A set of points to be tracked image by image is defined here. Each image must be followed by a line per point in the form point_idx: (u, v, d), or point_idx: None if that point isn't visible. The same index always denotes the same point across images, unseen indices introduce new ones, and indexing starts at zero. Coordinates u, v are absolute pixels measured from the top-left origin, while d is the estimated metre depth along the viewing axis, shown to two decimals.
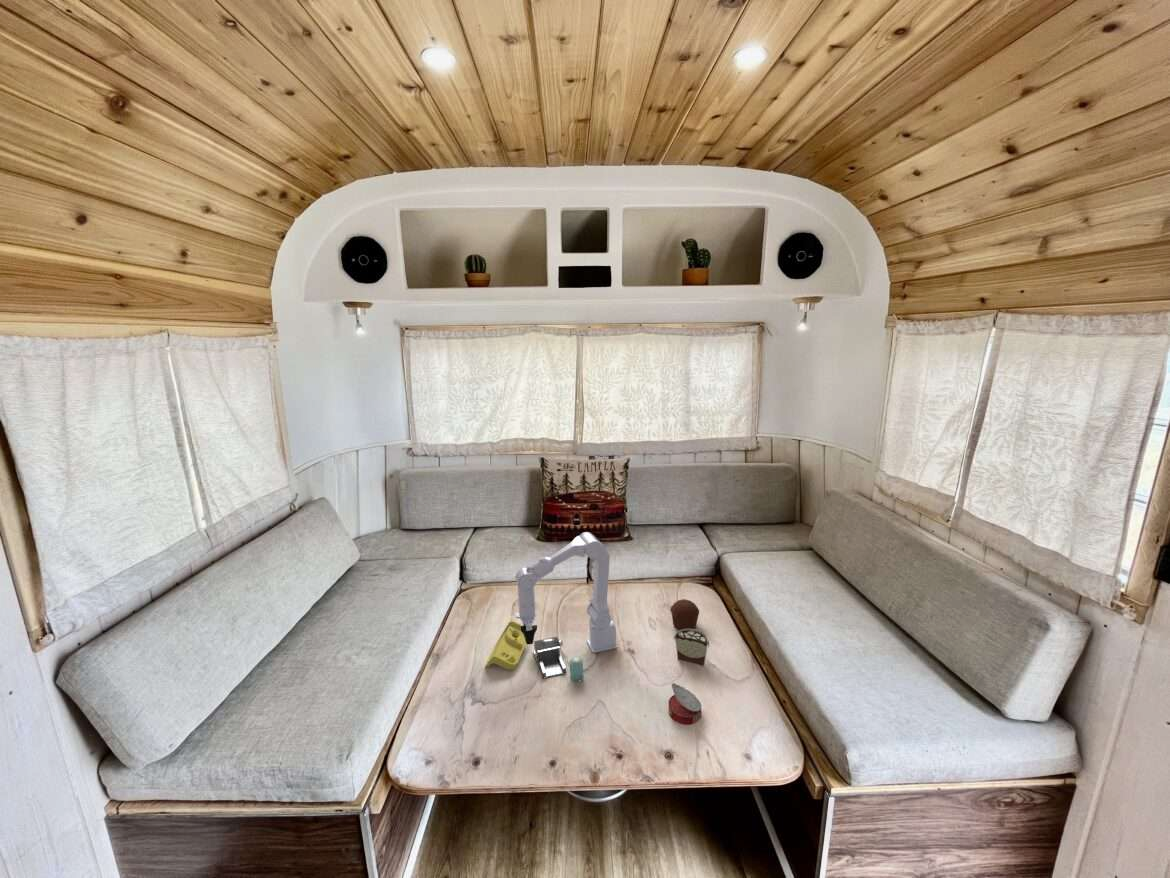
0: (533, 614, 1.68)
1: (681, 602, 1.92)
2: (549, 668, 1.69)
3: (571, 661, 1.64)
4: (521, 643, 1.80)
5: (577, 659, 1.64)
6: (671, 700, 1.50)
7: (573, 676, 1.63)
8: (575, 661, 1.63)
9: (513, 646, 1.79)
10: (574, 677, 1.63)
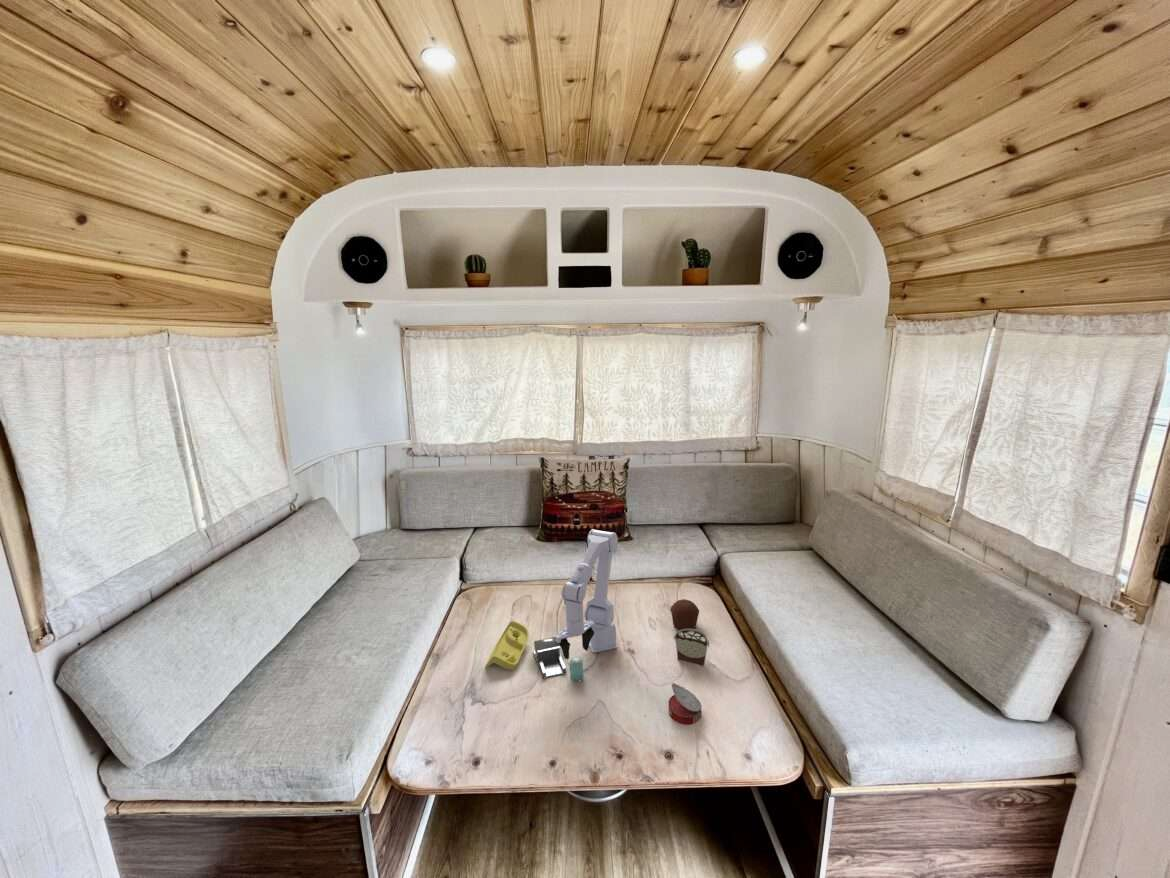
0: (573, 632, 1.59)
1: (681, 602, 1.92)
2: (549, 668, 1.69)
3: (571, 661, 1.64)
4: (522, 643, 1.80)
5: (577, 659, 1.64)
6: (671, 700, 1.50)
7: (573, 676, 1.63)
8: (575, 661, 1.63)
9: (514, 646, 1.79)
10: (574, 677, 1.63)
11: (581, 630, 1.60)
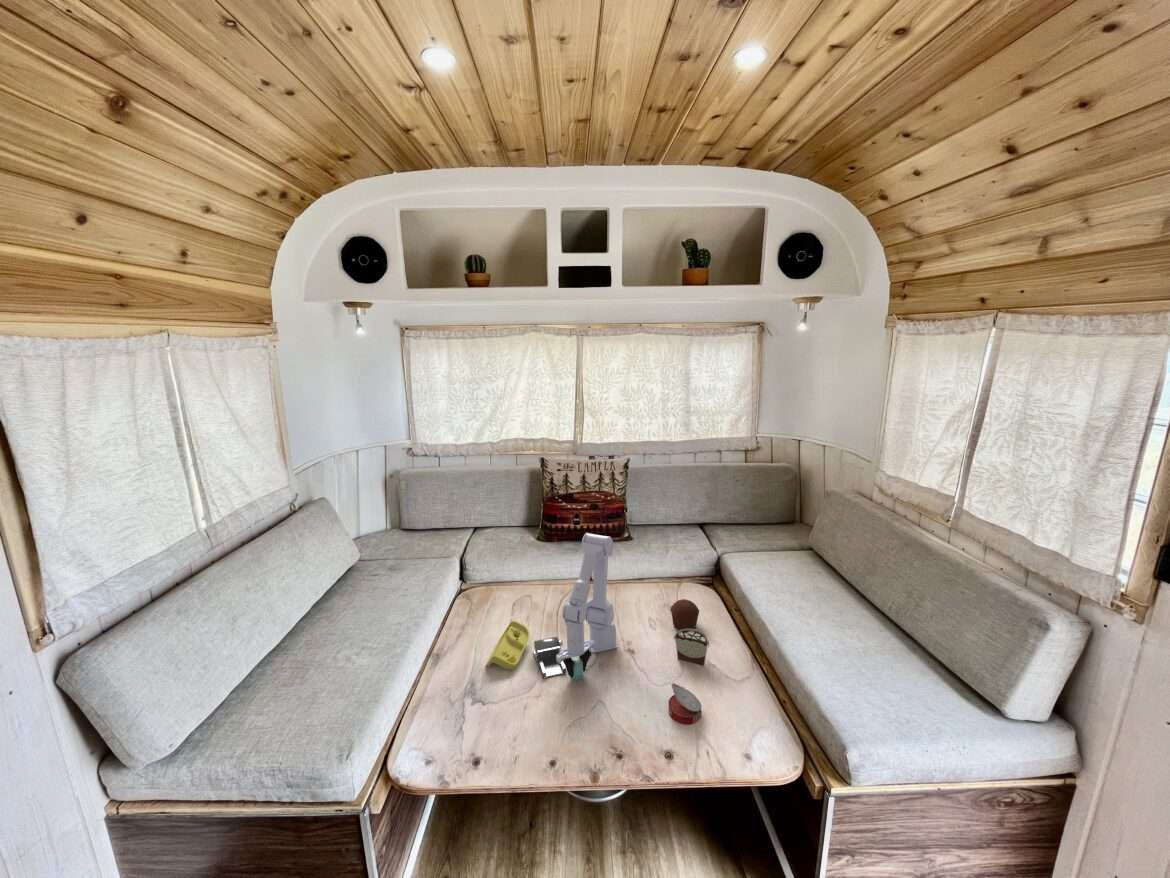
0: (573, 652, 1.60)
1: (681, 602, 1.92)
2: (549, 668, 1.69)
3: None
4: (522, 643, 1.80)
5: (577, 659, 1.64)
6: (671, 700, 1.50)
7: (573, 675, 1.63)
8: (575, 661, 1.63)
9: (514, 646, 1.79)
10: (574, 677, 1.63)
11: (582, 650, 1.61)
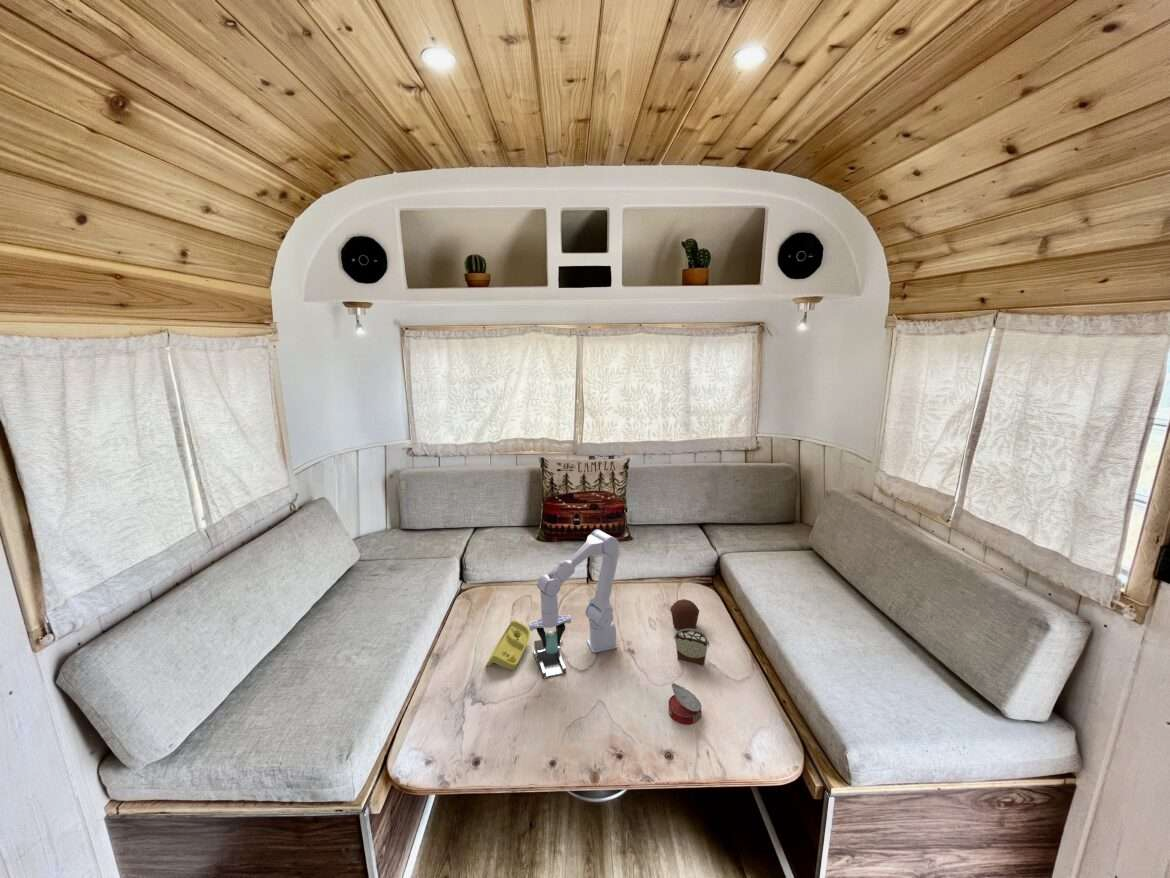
0: (545, 623, 1.65)
1: (681, 602, 1.92)
2: (549, 668, 1.69)
3: (546, 633, 1.68)
4: (522, 643, 1.80)
5: (552, 632, 1.68)
6: (671, 700, 1.50)
7: (547, 648, 1.67)
8: (549, 634, 1.67)
9: (514, 646, 1.79)
10: (547, 649, 1.67)
11: (554, 623, 1.65)
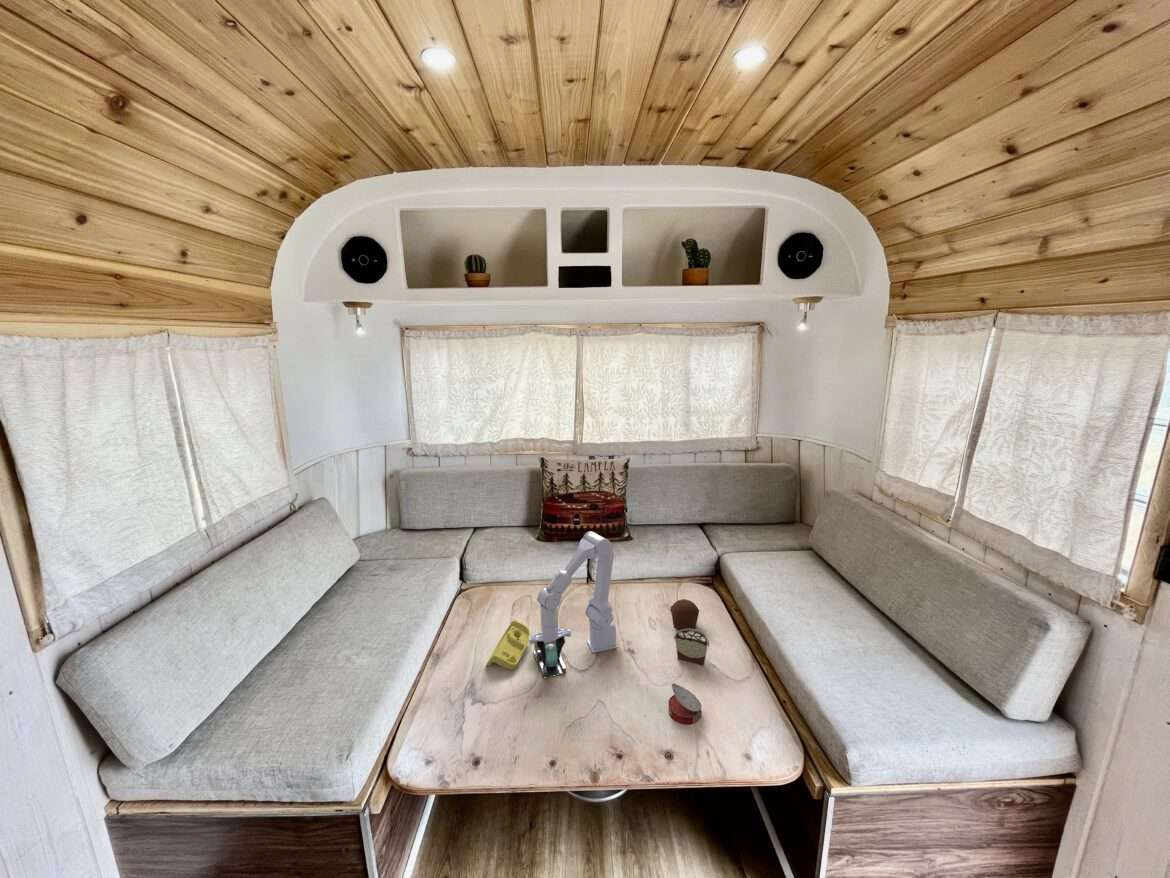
0: (545, 636, 1.66)
1: (681, 602, 1.92)
2: (549, 668, 1.69)
3: (546, 647, 1.69)
4: (523, 643, 1.80)
5: (552, 645, 1.69)
6: (671, 700, 1.50)
7: (547, 661, 1.68)
8: (549, 647, 1.68)
9: (515, 646, 1.79)
10: (547, 662, 1.68)
11: (553, 636, 1.66)
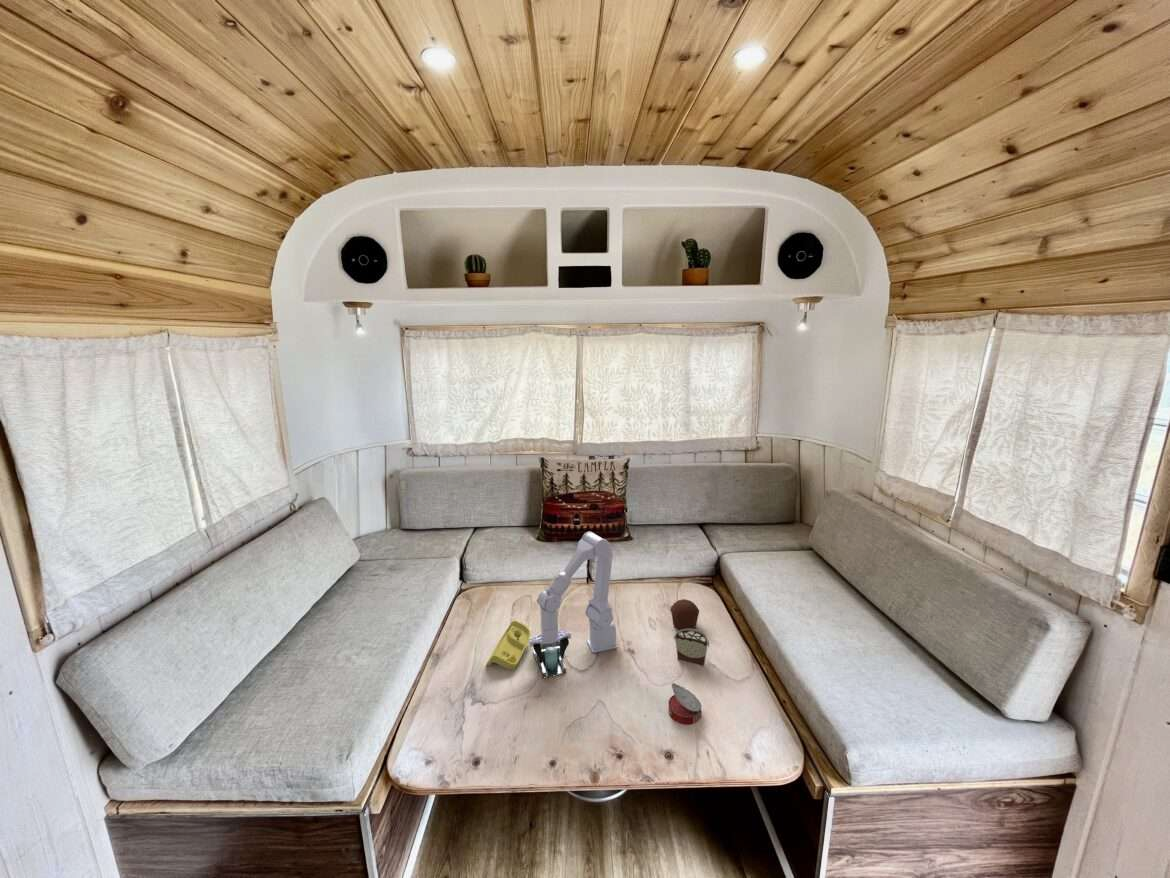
0: (545, 638, 1.66)
1: (681, 602, 1.92)
2: None
3: (546, 650, 1.70)
4: (523, 643, 1.80)
5: (552, 649, 1.69)
6: (671, 700, 1.50)
7: (547, 664, 1.69)
8: (549, 650, 1.69)
9: (515, 646, 1.79)
10: (547, 665, 1.69)
11: (553, 638, 1.66)
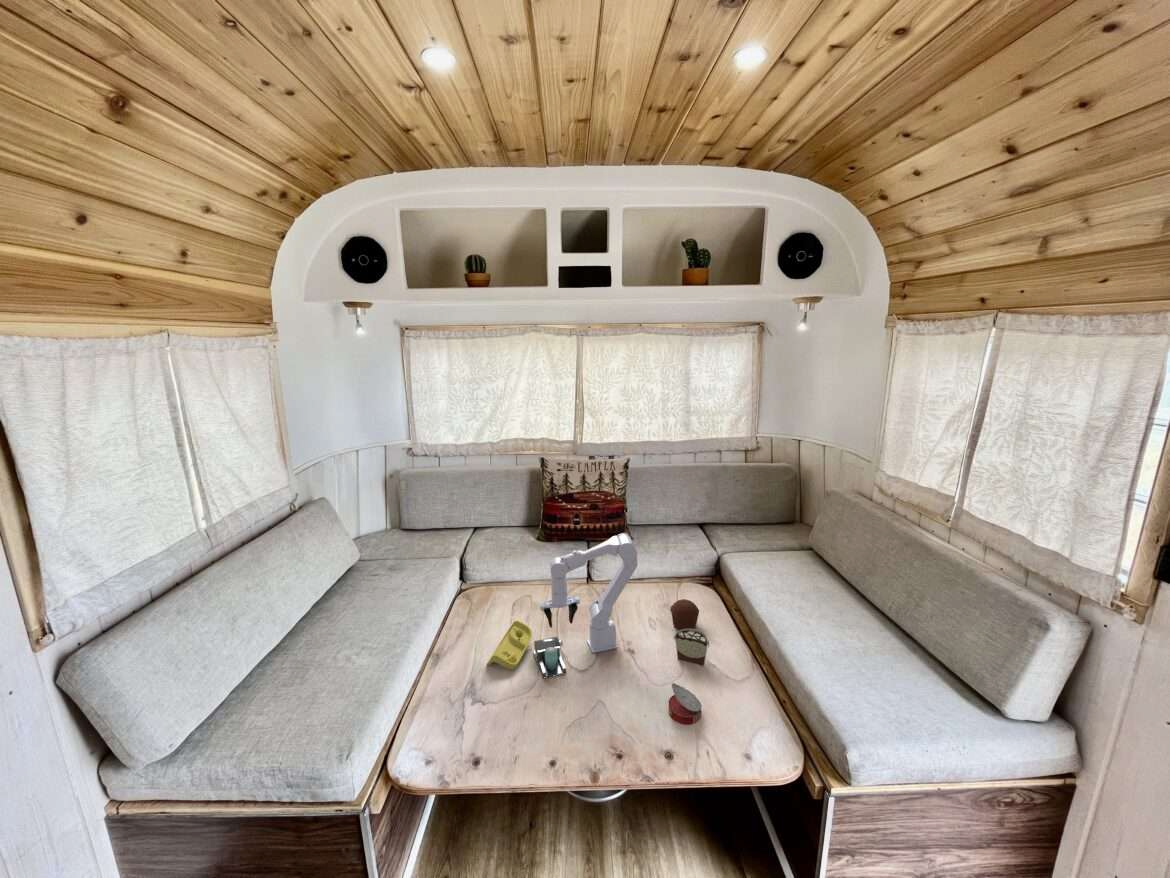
0: (555, 603, 1.75)
1: (681, 602, 1.92)
2: None
3: (546, 650, 1.70)
4: (524, 643, 1.80)
5: (552, 649, 1.69)
6: (671, 700, 1.50)
7: (547, 664, 1.69)
8: (549, 650, 1.69)
9: (516, 646, 1.79)
10: (547, 665, 1.69)
11: (563, 603, 1.75)
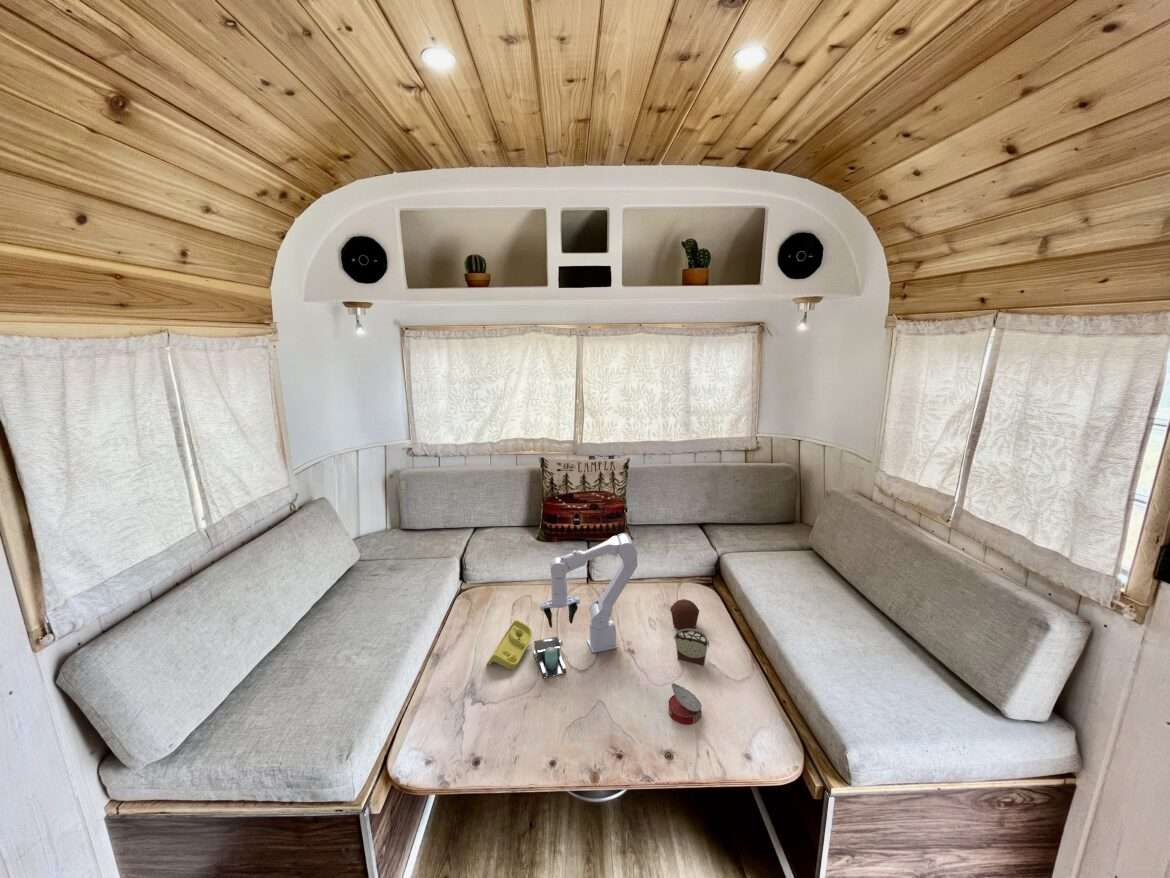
0: (555, 603, 1.75)
1: (681, 602, 1.92)
2: None
3: (546, 650, 1.70)
4: (524, 643, 1.80)
5: (552, 649, 1.69)
6: (671, 700, 1.50)
7: (547, 664, 1.69)
8: (549, 650, 1.69)
9: (516, 645, 1.79)
10: (547, 665, 1.69)
11: (563, 603, 1.75)
